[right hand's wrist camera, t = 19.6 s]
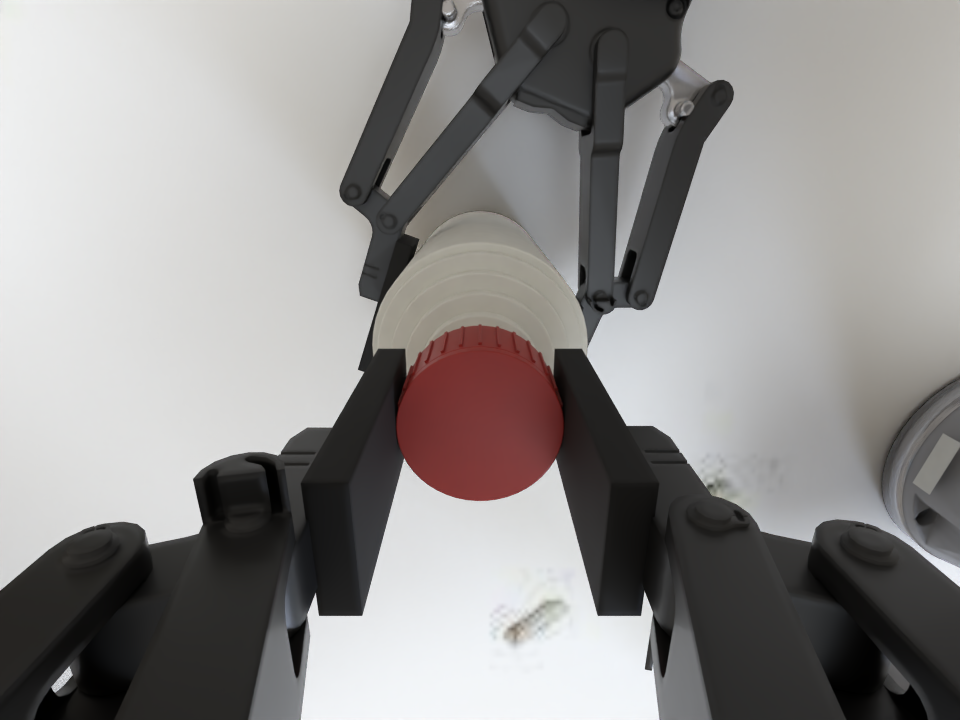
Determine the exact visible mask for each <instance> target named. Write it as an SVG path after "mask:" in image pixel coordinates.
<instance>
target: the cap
mask: <svg viewBox="0 0 960 720" xmlns="http://www.w3.org/2000/svg"><path fill="white" fill-rule="evenodd" d="M397 406H398V412H397V417H396V433H397V439H398V443H399V447H400V450H401V452H402V455H403V456H404V458H405V460H406V462H407V463H408V465H409V466H410V468H411V469H412V470H413V472H414V473H415V474H416V475H417V476H418V477H419V478H420V479H421V480H423V481H424V482H425V483H427V484H428V485H429V486H431V487H432V488H434V489H436V490H437V491H440V492H442V493H444V494H446V495H449V496H452V497H455V498H459V499H464V500H473V501H488V500H496V499H501V498H505V497H508V496H511V495H514V494H516V493H519V492H520V491H522V490H524V489H526V488H528V487H529V486H531V485H532V484H534V483H535V482H536V481H537V480H539V479H540V478H541V477H542V476H543V475H544V474H545V473H546V472H547V470H548V469H549V468H550V466H551V465H552V464H553V462H554V461H555V459H556V457H557V455H558V453H559V450H560V447H561V444H562V440H563V435H564V417H563V411H562V406H563V403H562V401H561V398H560V395H559V392H558V388H557V385H556V382H555V380H554V377H553V374H552V371H551V368H550V366H549V365H548V366H547V365H546V363H545V361H544V359H543V356H542V353H541V352H538V351H537V350H536V349H535V348H534V347H533V346H532V345H531V343H530V341H529V340H527V341H526V340H525V339H523V338H522V337H520V336H518V335H516V332H514V331H513V332H510V331H507V330H505V329H502V328H499V326H496V327H493V326H482V324H479V325H478V326H468V327H464V326H461V328H459V329H455V330H452V331H450V332H447V331H446V332H445V333H444V335H442V336H440V337H439V338H437V339H435V340H434V341H433V340H431V341H430V343H429V345H428V346H427V347H426V348H425V349H424V350H423V351H422V353H421V352H419V353H418V356H417V359H416V361H415V363H414V365H413V366H412V365H411V366H410V369H409V372H408V374H407V377H406V380H405V383H404V386H403V388H402V392H401V395H400V398H399V401H398V404H397Z"/></svg>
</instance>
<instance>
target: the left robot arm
mask: <svg viewBox="0 0 960 720" xmlns="http://www.w3.org/2000/svg"><path fill="white" fill-rule="evenodd" d="M691 1H692V0H412V2H411V13H410V22H409V25H408V27H407V29H406V32H405V34H404V36H403V39H402V41H401V43H400V46H399V48H398V51H397V53H396V55H395V58H394V60H393V62H392V65H391V67H390V69H389V72H388V74H387V76H386V79H385V81H384V84H383V86H382V88H381V91H380V93H379V95H378V98H377V100H376V102H375V105H374V107H373V110H372V112H371V114H370V117H369V119H368V121H367V124H366V126H365V128H364V131H363V133H362V136H361V138H360V140H359V143H358V145H357V147H356V150H355V152H354V154H353V157H352V159H351V162H350V164H349V166H348V169H347V171H346V173H345V176H344V178H343V180H342V183H341V185H340V190H339V191H340V197H341V198H342V200H343V201H344V202H345V203H346V204H347V205H350V206H353V207H354V208H355V209H357V210H358V211H359V212H360V213H362V214H363V215H364V216H365V217H366V218H367V219H368V220H369V222H370V223H371V226H372V230H373V234H372V239H371V242H370V246H369V249H368V253H367V256H366V260H365V264H364V267H363V271H362V274H361V278H360V281H359V292H360V296H362V297H365V298H368V299H371V300H374V301H377V302H378V304H377V307H376V311H375V314H374V317H373V321H372V324H371V327H370V331H369V334H368V338H367V341H366V344H365V348H364V351H363V354H362V358H361V361H360V364H359V368H358V370H360V371H363V372H365V370H366V369H367V367H368V365H369V364H370V362H371V360H372V358H373V346H372V344H373V330H374V325H375V320H376V316H377V313H378V311H379V308H380V305H381V303H382V301H383V299H384V297H385V295H386V293H387V292H388V290H389V289H390V287H391V286H392V285H393V283H394V282H395V280H396V279H397V278H398V277H399V275H400V274H401V273H402V272H403V270H404V269H405V268H406V266H407V265H408V264H409V263H410V261H411V260H412V259H413V257H414V254H415V251H416V248H417V245H418V242H419V239H417V238H415V237H412V236H409V235H406V234H404V233H405V230H406V226H407V225H408V224H409V222H410V221H411V220H412V219H413V218H414V216H415V215H416V214H417V213H418V212H419V210H420V209H421V208H422V207H423V206H424V204H425V203H426V202H427V201H428V200H429V198H430V197H431V196H432V195H433V194H434V192H435V191H436V190H437V189H438V188H439V186H440V185H441V184H442V183H443V182H444V180H445V179H446V178H447V177H448V176H449V174H450V173H451V172H452V171H453V170H454V168H455V167H456V166H457V165H458V164H459V162H460V161H461V160H462V159H463V158H464V156H465V155H466V154H467V153H468V151H469V150H470V149H471V148H472V147H473V145H474V144H475V143H476V142H477V141H478V139H479V138H480V137H481V136H482V135H483V133H484V132H485V131H486V130H487V129H488V127H489V126H490V125H491V124H492V123H493V122H494V120H495V119H496V118H497V117H498V116H499V115H500V114H501V112H502V111H503V110H504V109H505V108H506V106H507V105H508V104H509V103H510V102H513V103H514V105H513V106H515V107H517V108H520V109H522V110H525V111H527V112H533V113H544V114H548V115H549V116H550V117H552V118H553V119H554V120H555V121H557V122H558V123H559V124H561V125H562V126H565V127H567V128H570V129H572V130H575V131H579V153H580V206H579V256H578V292H577V295H576V299H577V301H578V303H579V305H580V307H581V310H582V313H583V316H584V320H585V324H586V329H587V341H588V345H589V342H590V341H591V339H592V337H593V334H594V332H595V330H596V328H597V326H598V323H599V321H600V319H601V317H602V315H604V314H608V313H610V312H611V311H613V310H614V308H634V309H636V310H643V309H646V308H648V307H649V306H650V305H651V304H652V302H653V300H654V297H655V294H656V291H657V288H658V285H659V282H660V279H661V275H662V272H663V269H664V266H665V263H666V260H667V257H668V254H669V250H670V247H671V244H672V241H673V238H674V235H675V232H676V229H677V225H678V222H679V219H680V216H681V213H682V210H683V207H684V203H685V200H686V197H687V194H688V191H689V188H690V185H691V182H692V178H693V175H694V172H695V169H696V166H697V163H698V160H699V157H700V153H701V150H702V147H703V144H704V142H705V140H706V139H707V138H708V136H709V135H710V133H711V132H712V130H713V129H714V128H715V126H716V125H717V123H718V122H719V120H720V119H721V117H722V116H723V115H724V113H725V112H726V110H727V109H728V107H729V106H730V104H731V102H732V100H733V95H734V91H733V88H732V86H731V85H730V83H729V82H727V81H725V80H717V81H715V82H712V83H710V82H709V81H707V80H706V79H705V78H703V77H702V76H701V75H699V74H698V73H697V72H695V71H694V70H693V69H691V68H690V67H689V66H687V65H686V64H684V63H683V62H682V61H680V56H681V30H682V25H683V21H684V18H685V15H686V13H687V10H688V8H689V6H690V4H691ZM476 11H482V12H483V16H484V20H485V24H486V28H487V32H488V36H489V40H490V45H491V49H492V53H493V57H494V61H495V66H494V67H493V68H492V69H491V71H490V72H489V73H488V74H487V76H486V77H485V78H484V79H483V81H482V82H481V83H480V84H479V86H478V87H477V89H476V90H475V92H474V93H473V95H472V96H471V97H470V99H469V100H468V101H467V102H466V104H465V105H464V106H463V107H462V109H461V110H460V111H459V112H458V114H457V115H456V116H455V117H454V119H453V120H452V121H451V122H450V124H449V125H448V126H447V127H446V129H445V130H444V131H443V132H442V134H441V135H440V136H439V137H438V139H437V140H436V141H435V142H434V143H433V145H432V146H431V147H430V148H429V150H428V151H427V152H426V153H425V155H424V156H423V157H422V158H421V160H420V161H419V162H418V163H417V165H416V166H415V167H414V168H413V170H412V171H411V172H410V173H409V175H408V176H407V177H406V178H405V179H404V181H403V182H402V183H401V184H400V186H399V187H398V188H397V189H396V191H395V192H394V193H393V194H392V196H391V197H390V196H389V195H388V194H386V193H385V192H384V191H383V190H381V189H380V188H381V186H382V183H383V181H384V179H385V177H386V175H387V172H388V170H389V168H390V166H391V163H392V161H393V159H394V157H395V155H396V152H397V150H398V148H399V146H400V143H401V141H402V139H403V137H404V134H405V132H406V130H407V128H408V126H409V123H410V121H411V119H412V117H413V114H414V112H415V110H416V108H417V106H418V103H419V101H420V99H421V97H422V94H423V92H424V90H425V88H426V86H427V83H428V81H429V79H430V77H431V74H432V72H433V70H434V68H435V66H436V63H437V61H438V58H439V56H440V53H441V50H442V46H443V42H444V37H445V36H454V35H457V34H458V33H459V32H460V31H461V30H462V28H463V25H464V23H465V20H466V18H467V17H468V16H469V15H470V14H471V13H473V12H476ZM656 87H659V88H660V89H661V90H662V92H663V96H664V101H663V105H662V108H661V110H660V119H661V121H662V123H663V124H664V125H665V128H664V130H663V132H662V134H661V136H660V138H659V140H658V143H657V146H656V149H655V151H654V155H653V158H652V162H651V165H650V169H649V172H648V176H647V179H646V182H645V186H644V189H643V193H642V196H641V200H640V203H639V207H638V210H637V213H636V217H635V220H634V224H633V227H632V231H631V234H630V238H629V241H628V244H627V248H626V251H625V255H624V258H623V262H622V265H621V268H620V272H619V275H618V277H614V267H615V244H616V221H617V199H618V176H619V156H620V152H621V149H622V145H623V134H624V112H625V109H627V108H628V107H629V106H631V105H632V104H634V103H635V102H636V101H638V100H639V99H641V98H642V97H643V96H645V95H646V94H648V93H649V92H651V91H652V90H653V89H655V88H656ZM587 348H588V346H587ZM882 492H883V498H884V502H885V506H886V509H887V511H888V513H889V515H890V517H891V518H892V520H893V521H894V523H895V524H896V525H897V526H898V527H899V528H900V529H901V530H902V531H903V532H904V533H905V534H906V535H908V536H909V537H910V538H911V539H912V540H914V541H915V542H916V543H917V544H918V545H919V546H921V547H922V548H923V549H924V550H926V551H927V552H928V553H930V554H931V555H933V556H935V557H937V558H939V559H942V560H944V561H946V562H948V563H951V564H953V565H955V566H957V567H959V568H960V379H958V380H956V381H954V382H953V383H951V384H949V385H948V386H946V387H945V388H944V389H942V390H941V391H939V392H938V393H937V394H935V395H934V396H933V397H932V398H930V399H929V400H928V401H927V402H926V403H925V404H924V405H923V406H922V407H920V408H919V409H918V410H917V412H916V413H915V414H914V415H913V416H912V417H911V418H910V419H909V421H908V422H907V423H906V424H905V426H904V427H903V428H902V430H901V431H900V433H899V435H898V436H897V438H896V440H895V441H894V443H893V445H892V447H891V449H890V452H889V454H888V457H887V460H886V463H885V467H884V472H883V480H882ZM888 674H889V675H890V676H891V677H892V678H893V680H894V681H895V682H896V683H897V684H898V685H899V686H900V687H901V688H902V689H903V690H904V691H907V690H908V688H909V685H910V684H909V682H908V681H907V680H906V679H905V678H904V677H903V676H902V674H901V673H900V672H899V671H898V670H897V669H896V668H895V666H894V665H893V664H892V663H891V666H890V669H889V671H888Z"/></svg>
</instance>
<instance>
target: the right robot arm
mask: <svg viewBox="0 0 960 720" xmlns="http://www.w3.org/2000/svg"><path fill="white" fill-rule="evenodd" d="M406 377H407V370H406V351H405V349H378V350H377V351H376V353H375V355H374V357H373V358H372V360H371V362H370V364H369V365H368V367H367V369H366V370H365V372H364V374H363V376H362V377H361V379H360V381H359V383H358V384H357V386H356V388H355V389H354V391H353V393H352V395H351V396H350V398H349V400H348V402H347V403H346V405H345V407H344V409H343V410H342V412H341V414H340V415H339V417H338V419H337V421H336V422H335V424H334V426H333V428H306V429H305V430H303V431H302V432H300V433H299V434H297V435H296V436H294V437H292V438H291V439H290V440H289V441H288V443H287V444H286V446H285V447H284V448H283V450H282V451H281V455H278V456H277V455H273V454H269V453H265V452H248V453H243V454H238V455H232V456H229V457H226V458H224V459H221V460H218V461H215V462H214V463H212V464H210V465H209V466H207V467H205V468H204V469H202V470H201V471H200V472H199V473H198V474H197V475H196V476H195V477H194V479H193V481H194V485H195V490H196V494H197V499H198V503H199V508H200V512H201V517H202V521H203V526H202V528H201V530H200V532H199V534H196V535H193V536H189V537H185V538H180V539H175V540H170V541H165V542H160V543H155V544H150V545H149V544H148V541H147V537H146V533H145V530H144V529H142V528H141V527H140V526H139V525H138V524H133V523H128V522H117V523H106V524H101V525H97V526H95V527H94V526H93V527H90V528H87V529H84V530H82V531H81V532H78V533H76V534H74V535H72V536H70V537H68V538H65V539H64V540H63V541H61V542H60V543H58V544H57V545H55V546H54V547H52V548H51V549H49V550H48V551H47V552H46V553H44V554H43V555H42V556H41V557H40V558H39V559H37V560H36V561H35V562H34V563H33V564H31V565H30V566H29V567H28V568H27V569H26V570H24V571H23V572H22V573H21V574H20V575H18V576H17V577H16V578H15V579H14V580H12V581H11V582H10V583H9V584H8V585H7V586H5V587H4V588H3V589H2V590H1V591H0V720H301V712H302V703H303V694H304V685H305V677H306V668H307V659H308V650H309V642H310V632H309V625H308V618H307V613H308V611H309V608H310V606H311V603H312V601H313V598H314V595H315V593H316V597H317V604H318V611H319V616H362V615H363V611H364V607H365V603H366V599H367V596H368V592H369V588H370V584H371V581H372V577H373V573H374V569H375V566H376V562H377V558H378V554H379V551H380V547H381V543H382V539H383V535H384V532H385V528H386V524H387V520H388V517H389V513H390V509H391V505H392V502H393V498H394V494H395V490H396V487H397V483H398V479H399V475H400V471H401V468H402V464H403V460H404V456H403V455H402V452H401V450H400V447H399V443H398V439H397V433H396V417H397V412H398V406H397V404H398V401H399V398H400V395H401V392H402V388H403V386H404V383H405V380H406ZM553 377H554V380H555V382H556V385H557V388H558V392H559V395H560V398H561V401H562V403H563V406H562V411H563V417H564V435H563V440H562V444H561V447H560V450H559V453H558V455H557V457H556V460H557V464H558V468H559V471H560V475H561V479H562V483H563V487H564V490H565V494H566V498H567V502H568V505H569V509H570V513H571V517H572V520H573V524H574V528H575V532H576V535H577V539H578V543H579V547H580V551H581V554H582V558H583V562H584V566H585V569H586V573H587V577H588V581H589V584H590V588H591V592H592V596H593V599H594V603H595V607H596V611H597V615H598V616H641V611H642V604H643V597H644V590H645V593H646V595H647V598H648V601H649V603H650V606H651V608H652V611H653V618H652V625H651V631H650V638H649V645H648V651H647V658H646V665H645V670H651V671H652V666H653V667H654V675H655V684H656V693H657V702H658V710H659V719H660V720H960V587H959V586H958V585H956V584H955V583H954V582H953V581H952V580H950V579H949V578H948V577H947V576H946V575H944V574H943V573H942V572H941V571H940V570H938V569H937V568H936V567H935V566H934V565H933V564H931V563H930V562H929V561H928V560H927V559H925V558H924V557H923V556H922V555H921V554H919V553H918V552H917V551H916V550H915V549H913V548H912V547H911V546H909V545H908V544H906V543H905V542H903V541H902V540H900V539H899V538H897V537H896V536H894V535H892V534H890V533H888V532H885V531H883V530H881V529H879V528H878V527H875V526H872V525H869V524H864V523H861V522H857V521H847V520H831V521H825V522H823V523H821V524H820V525H819V526H818V527H817V528H816V530H815V533H814V537H813V541H812V543H811V542H806V541H801V540H796V539H791V538H786V537H781V536H777V535H772V534H769V533H765V532H761V531H760V529H759V527H758V525H757V523H756V522H755V520H754V519H753V518H752V517H751V515H750V514H749V513H748V512H746V511H745V510H744V509H742V508H741V507H739V506H738V505H736V504H734V503H732V502H729V501H727V500H725V499H722V498H719V497H715V496H712V495H711V494H710V492H709V491H708V490H707V488H706V487H705V485H704V484H703V483H702V481H701V480H700V478H699V477H698V476H697V474H696V473H695V471H694V470H693V469H692V467H691V466H690V464H687V460H686V459H685V458H684V456H683V455H682V453H679V449H678V448H677V446H676V445H675V444H674V442H673V441H672V439H671V438H670V437H669V436H667V435H666V434H664V433H663V432H661V431H660V430H658V429H657V428H655V427H653V426H626V424H625V422H624V421H623V419H622V417H621V415H620V414H619V412H618V410H617V409H616V407H615V405H614V403H613V402H612V400H611V398H610V396H609V395H608V393H607V391H606V389H605V388H604V386H603V384H602V383H601V381H600V379H599V377H598V376H597V374H596V372H595V370H594V369H593V367H592V365H591V364H590V362H589V360H588V358H587V357H586V355H585V353H584V351H583V350H582V349H555V351H554V370H553ZM891 663H892V664H893V665H894V666H895V668H896V669H897V670H898V671H899V672H900V673H901V674H902V676H903V677H904V678H905V679H906V680H907V681H908V682H909V684H910V685H909V688H908V690H907V691H904V690H903V689H902V688H901V687H900V686H899V685H898V684H897V683H896V682H895V681H894V680H893V678H892V677H891V676H890V675H889V674H888V671H889V669H890V666H891ZM69 666H70V669H71V671H72V674H73V676H72V677H71V678H70V679H69V680H68V681H67V683H66V684H65V685H64V686H63V687H62V688H61V689H59V690H58V691H57V692H56V693H54V692H53V690H52V688H51V686H52V685H53V684H54V683H55V682H56V681H57V679H58V678H59V677H60V676H61V675H62V674H63V672H64V671H65V670H66V669H67V668H68V667H69Z"/></svg>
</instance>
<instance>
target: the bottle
mask: <svg viewBox="0 0 960 720" xmlns="http://www.w3.org/2000/svg"><path fill="white" fill-rule="evenodd" d="M479 324H482V326H493V327H496V326H499V328H502V329H505V330H507V331H510V332H513V331H514V332H516V335H518V336H520V337H522V338H523V339H525V340H526V341H527V340H529V341H530V343H531V345H532V346H533V347H534V348H535V349H536V350H537V351H538V352H541V353H542V356H543V359H544V361H545V363H546V365H547V366H548V365H549V366H550V368H551V371H552V374H553V370H554V351H555V349H582V350H583V351H584V353H585V355H586V357H587V346H588V341H587V329H586V324H585V320H584V316H583V313H582V310H581V307H580V305H579V303H578V301H577V299H576V297H575V295H574V293H573V291H572V290H571V289H570V287H569V286H568V285H567V283H566V282H565V280H564V279H563V278H562V277H561V275H560V274H559V273H558V271H557V270H556V269H555V268H554V266H553V265H552V264H551V262H550V261H549V260H548V259H547V257H546V256H545V255H544V253H543V252H542V251H541V250H540V248H539V247H538V246H537V244H536V243H535V242H534V241H533V239H532V238H531V237H530V236H529V234H528V233H527V232H526V231H525V230H524V229H523V228H522V227H521V226H520V225H518V224H517V223H516V222H514V221H513V220H511V219H509V218H508V217H505V216H503V215H501V214H497V213H493V212H486V211H473V212H467V213H463V214H460V215H457V216H455V217H453V218H451V219H449V220H447V221H446V222H444V223H443V224H442V225H440V226H439V227H438V228H437V229H436V230H435V231H434V232H433V233H432V234H431V236H430V237H429V238H428V239H427V241H426V242H425V243H424V245H423V246H422V247H421V248H420V250H419V251H418V252H417V254H416V255H415V256H414V257H413V259H412V260H411V261H410V263H409V264H408V265H407V266H406V268H405V269H404V270H403V272H402V273H401V274H400V275H399V277H398V278H397V279H396V280H395V282H394V283H393V285H392V286H391V287H390V289H389V290H388V292H387V293H386V295H385V297H384V299H383V301H382V303H381V305H380V308H379V311H378V313H377V316H376V320H375V325H374V330H373V344H372V346H373V357H374V355H375V353H376V351H377V350H378V349H405V351H406V370H407V374H408V372H409V369H410V366H411V365H412V366H413V365H414V363H415V361H416V359H417V356H418V353H419V352H421V353H422V351H423V350H424V349H425V348H426V347H427V346H428V345H429V343H430V341H431V340H433V341H434V340H435V339H437V338H439V337H440V336H442V335H444V333H445V332H446V331H447V332H450V331H452V330H455V329H459V328H461V326H464V327H468V326H478V325H479Z"/></svg>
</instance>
